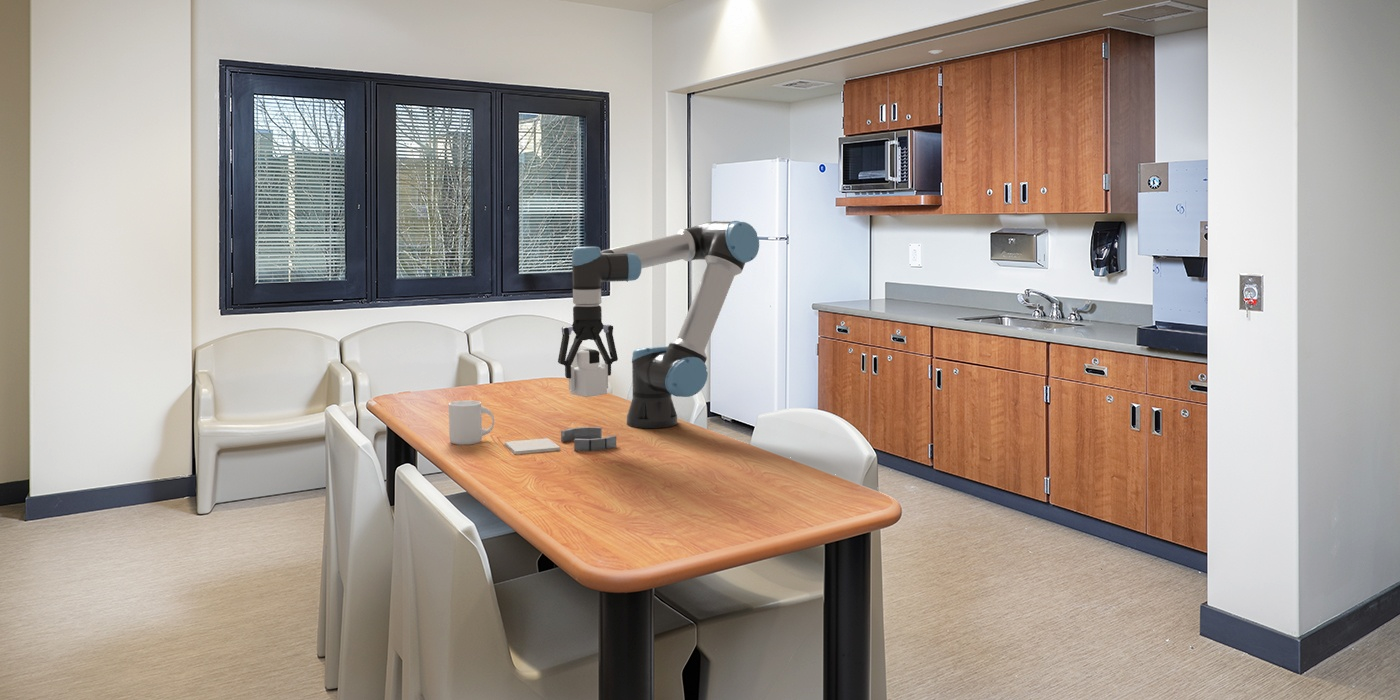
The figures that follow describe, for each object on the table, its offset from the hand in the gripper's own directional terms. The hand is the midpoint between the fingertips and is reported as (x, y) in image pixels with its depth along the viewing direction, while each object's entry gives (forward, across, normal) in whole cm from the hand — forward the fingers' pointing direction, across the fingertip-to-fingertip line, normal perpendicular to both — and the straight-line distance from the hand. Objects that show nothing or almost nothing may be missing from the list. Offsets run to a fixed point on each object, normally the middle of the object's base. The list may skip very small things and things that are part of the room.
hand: (588, 388), depth 258 cm
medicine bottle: (+2, 0, 0) cm, 2 cm away
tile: (+15, +15, -2) cm, 22 cm away
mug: (+15, +28, -16) cm, 36 cm away
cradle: (+15, 0, 0) cm, 15 cm away
